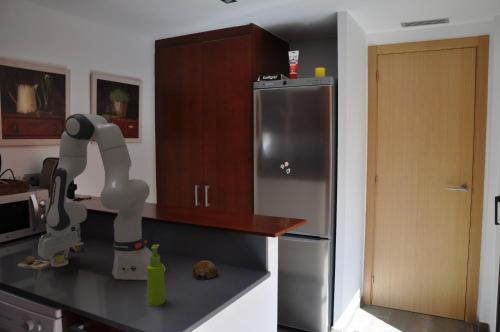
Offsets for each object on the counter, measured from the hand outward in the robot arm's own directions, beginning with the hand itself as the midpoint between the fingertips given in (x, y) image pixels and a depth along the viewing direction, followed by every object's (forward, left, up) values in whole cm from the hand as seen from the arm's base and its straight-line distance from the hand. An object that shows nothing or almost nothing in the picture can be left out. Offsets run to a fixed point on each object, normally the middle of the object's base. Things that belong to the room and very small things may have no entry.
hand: (59, 260), depth 177 cm
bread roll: (-69, -6, -2) cm, 69 cm away
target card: (+11, -5, -2) cm, 12 cm away
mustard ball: (0, 0, -2) cm, 2 cm away
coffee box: (+22, -31, -2) cm, 38 cm away
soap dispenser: (-63, +22, -2) cm, 67 cm away
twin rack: (+9, +4, -2) cm, 10 cm away
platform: (+8, -18, -2) cm, 20 cm away
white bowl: (0, 0, -2) cm, 2 cm away
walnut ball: (+12, +4, -2) cm, 13 cm away
